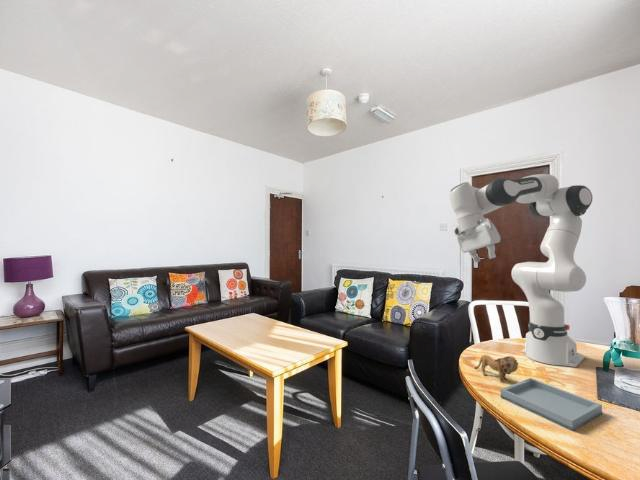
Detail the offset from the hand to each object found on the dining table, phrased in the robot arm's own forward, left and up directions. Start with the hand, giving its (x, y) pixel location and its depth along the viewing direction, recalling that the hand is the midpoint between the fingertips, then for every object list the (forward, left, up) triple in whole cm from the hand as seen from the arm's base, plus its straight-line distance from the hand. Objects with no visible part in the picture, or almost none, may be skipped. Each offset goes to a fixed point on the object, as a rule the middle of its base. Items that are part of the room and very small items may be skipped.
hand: (484, 260), depth 106 cm
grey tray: (+4, +21, -41) cm, 47 cm away
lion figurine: (0, +4, -41) cm, 42 cm away
